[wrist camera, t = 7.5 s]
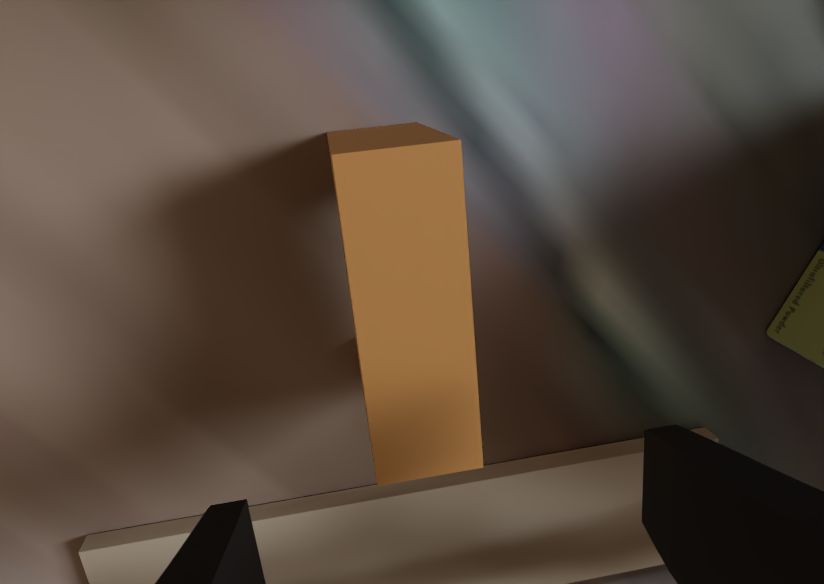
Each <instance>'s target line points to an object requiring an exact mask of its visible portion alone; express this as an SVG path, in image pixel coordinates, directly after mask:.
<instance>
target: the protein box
mask: <svg viewBox="0 0 824 584" xmlns="http://www.w3.org/2000/svg"><path fill="white" fill-rule="evenodd" d="M767 335H768V337H769V338H771V339H773V340H774V341H776V342H778V343H779V344H781V345H783V346H785V347H786V348H788V349H790V350H791V351H793V352H795V353H797V354H798V355H800V356H802V357H804V358H805V359H807V360H809V361H810V362H812V363H814V364H816V365H817V366H819V367H821V368H823V369H824V242H823V244H822V245H821V247H820V248H819V250H818V252H817V253H816V255H815V256H814V258H813V260H812V261H811V263H810V264H809V266H808V267H807V269H806V270H805V272H804V273H803V275H802V277H801V278H800V280H799V281H798V283H797V284H796V286H795V287H794V289H793V291H792V292H791V294H790V295H789V297H788V298H787V300H786V302H785V303H784V305H783V306H782V308H781V309H780V311H779V312H778V314H777V315H776V317H775V318H774V320H773V322H772V323H771V325H770V326H769V328H768V329H767Z"/></svg>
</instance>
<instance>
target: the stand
mask: <svg viewBox="0 0 824 584" xmlns="http://www.w3.org/2000/svg"><path fill="white" fill-rule="evenodd" d="M690 431H693V432H695V433H697V434H700V435H702V436H704V437H706V438H708V439H711V440H713V441H715V442H717V443H718V441H719V438H717V437H716V436H715V435H714V434H713V433H712V432H711V431H710V430H708V429H707V428H706V427H702V428H696V429H690ZM643 460H644V438H639V439H633V440H628V441H622V442H616V443H611V444H605V445H599V446H593V447H588V448H582V449H576V450H571V451H565V452H559V453H554V454H548V455H542V456H536V457H531V458H525V459H519V460H514V461H508V462H502V463H496V464H491V465H485V466H483V467H484V468H478V469H473V470H467V471H461V472H455V473H450V474H444V475H438V476H433V477H427V478H421V479H415V480H410V481H404V482H398V483H392V484H387V485H381V486H377V485H371V486H365V487H360V488H354V489H348V490H342V491H337V492H331V493H325V494H320V495H314V496H308V497H302V498H297V499H291V500H285V501H280V502H274V503H268V504H263V505H257V506H251V507H249V512H250V516H251V521H252V525H253V529H254V534H255V538H256V543H257V547H258V552H259V556H260V560H261V565H262V569H263V574H264V578H265V582H266V584H677V582H676V581H675V579H674V578H673V576H672V575H671V574H670V572H669V570H668V569H667V567H666V565H665V563H664V562H663V560H662V558H661V556H660V555H659V553H658V551H657V549H656V548H655V546H654V544H653V542H652V540H651V538H650V536H649V534H648V533H647V531H646V529H645V527H644V525H643V523H642V492H643ZM202 516H203V515H200V516H194V517H188V518H183V519H177V520H171V521H166V522H160V523H154V524H148V525H143V526H137V527H131V528H126V529H120V530H114V531H108V532H103V533H97V534H91V535H87V536H86V538H85V540H84V542H83V544H82V546H81V548H80V550H79V552H78V553H79V556H80V559H81V562H82V565H83V567H84V570H85V573H86V576H87V579H88V582H89V584H155V583H156V581H157V580H158V579H159V577H160V576H161V575H162V573H163V572H164V570H165V569H166V568H167V566H168V565H169V563H170V562H171V561H172V559H173V558H174V556H175V555H176V554H177V552H178V551H179V549H180V548H181V546H182V545H183V543H184V542H185V541H186V539H187V538H188V536H189V535H190V533H191V532H192V530H193V529H194V528H195V526H196V525H197V523H198V522H199V520H200V519H201V517H202Z"/></svg>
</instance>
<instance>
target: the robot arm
mask: <svg viewBox="0 0 824 584" xmlns="http://www.w3.org/2000/svg"><path fill="white" fill-rule="evenodd" d="M642 523H643V525H644V527H645V529H646V531H647V533H648V534H649V536H650V538H651V540H652V542H653V544H654V546H655V548H656V549H657V551H658V553H659V555H660V556H661V558H662V560H663V562H664V563H665V565H666V567H667V569H668V570H669V572H670V574H671V575H672V576H673V578H674V579H675V581H676V582H677V584H824V492H823V491H821V490H819V489H816V488H814V487H812V486H810V485H807V484H805V483H803V482H800V481H798V480H796V479H794V478H792V477H789V476H787V475H785V474H783V473H781V472H779V471H776V470H774V469H772V468H770V467H768V466H766V465H763V464H761V463H759V462H757V461H755V460H753V459H751V458H749V457H747V456H744V455H742V454H740V453H738V452H736V451H734V450H732V449H730V448H728V447H725V446H723V445H721V444H719V443H717V442H715V441H713V440H711V439H708V438H706V437H704V436H702V435H700V434H697V433H695V432H693V431H690V430H688V429H686V428H683V427H681V426H678V425H671V426H665V427H659V428H654V429H648V430H644V460H643V492H642ZM155 584H266V582H265V578H264V574H263V569H262V565H261V560H260V556H259V552H258V547H257V543H256V538H255V534H254V529H253V525H252V521H251V516H250V512H249V507H248V503H247V499H245V500H239V501H234V502H228V503H222V504H216V505H211V506H210V507H209V508H208V509H207V511H206V512H205V513H204V515H203V516H202V517H201V519H200V520H199V522H198V523H197V525H196V526H195V528H194V529H193V530H192V532H191V533H190V535H189V536H188V538H187V539H186V541H185V542H184V543H183V545H182V546H181V548H180V549H179V551H178V552H177V554H176V555H175V556H174V558H173V559H172V561H171V562H170V563H169V565H168V566H167V568H166V569H165V570H164V572H163V573H162V575H161V576H160V577H159V579H158V580H157V581H156V583H155Z"/></svg>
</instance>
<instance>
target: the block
mask: <svg viewBox="0 0 824 584" xmlns="http://www.w3.org/2000/svg"><path fill="white" fill-rule="evenodd" d="M327 138H328V146H329V153H330V160H331V167H332V174H333V181H334V187H335V193H336V199H337V206H338V213H339V220H340V227H341V235H342V242H343V249H344V256H345V263H346V270H347V278H348V285H349V292H350V299H351V306H352V314H353V321H354V328H355V335H356V338H355V339H356V346H357V353H358V360H359V368H360V375H361V381H362V388H363V395H364V401H365V408H366V414H367V421H368V427H369V434H370V441H371V447H372V454H373V460H374V467H375V474H376V480H377V486H381V485H387V484H392V483H398V482H404V481H410V480H415V479H421V478H427V477H433V476H438V475H444V474H450V473H455V472H461V471H467V470H473V469H478V468H484V467H483V453H482V438H481V424H480V409H479V394H478V380H477V365H476V351H475V336H474V322H473V307H472V293H471V278H470V264H469V249H468V235H467V220H466V206H465V191H464V177H463V162H462V148H461V140H460V139H458V138H455V137H453V136H450V135H448V134H445V133H443V132H440V131H438V130H435V129H432V128H430V127H427V126H425V125H422V124H420V123H417V122H415V123H406V124H397V125H388V126H379V127H370V128H361V129H352V130H343V131H334V132H327Z"/></svg>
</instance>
